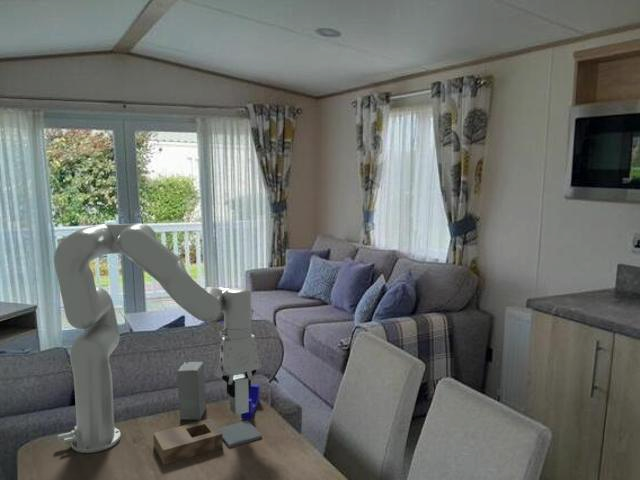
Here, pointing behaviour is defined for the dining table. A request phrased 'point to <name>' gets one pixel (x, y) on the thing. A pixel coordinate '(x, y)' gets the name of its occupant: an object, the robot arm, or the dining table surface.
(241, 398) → the steel bar
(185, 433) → the wooden block with hole
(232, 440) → the rubber mat
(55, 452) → the dining table surface
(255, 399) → the cable clip
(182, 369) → the skincare box
